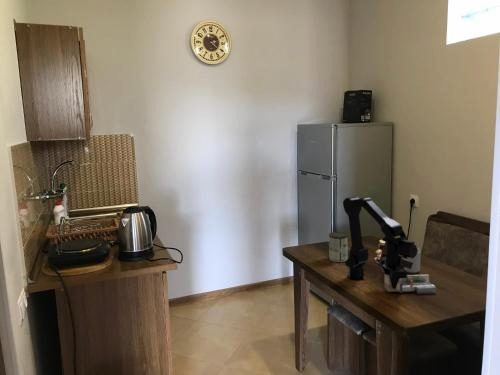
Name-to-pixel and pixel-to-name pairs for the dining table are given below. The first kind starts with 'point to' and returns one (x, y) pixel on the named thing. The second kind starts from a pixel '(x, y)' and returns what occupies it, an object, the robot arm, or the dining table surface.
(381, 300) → the dining table surface
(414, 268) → the can
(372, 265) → the dining table surface
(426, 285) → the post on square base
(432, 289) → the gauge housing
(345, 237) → the coffee can
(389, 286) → the block
